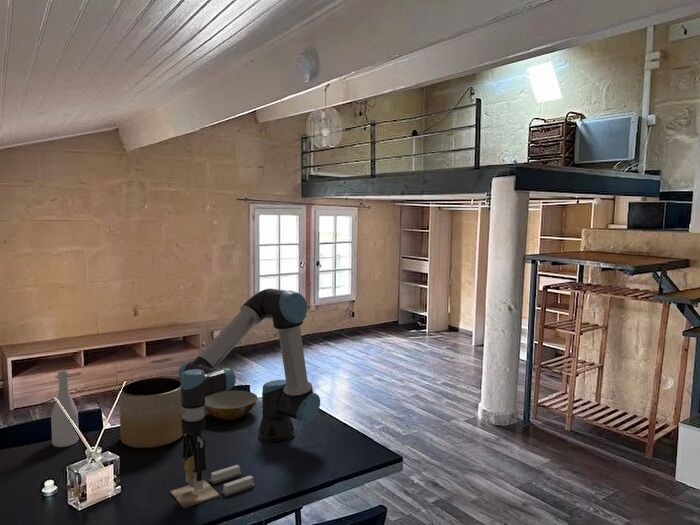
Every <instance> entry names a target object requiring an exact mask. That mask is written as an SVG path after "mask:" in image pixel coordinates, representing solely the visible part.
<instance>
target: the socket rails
mask: <svg viewBox="0 0 700 525" xmlns="http://www.w3.org/2000/svg"><path fill="white" fill-rule="evenodd" d="M210 473H211V474H210V477H211V478H209V482H210V483H211V484H212V485H214V484H218V483H220V482H224V481H227V480H230V479H232V478H233V479H234V478H236V477H240V476H242V472H241V467H240V465H239V464H235V465H232V466H229V467H228V466H227V467H225V468H222V469H218V470H216V471H213V472H210ZM254 487H256V484H255V483H254V477H253V475H248V476H245V477H242V478H238V479H235V480H233V481H229V482H227V483H223V490H221V493H222V495H224V496H225V497H228V496H230V495H234V494H236V493H240V492H242V491H245V490H248V489H252V488H254Z"/></svg>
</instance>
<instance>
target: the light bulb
mask: <svg viewBox="0 0 700 525" xmlns="http://www.w3.org/2000/svg"><path fill="white" fill-rule="evenodd" d="M183 469H184V472H185V474H186V473H187V475H188V476H189V482H188V485H189V486H190V487H193V488H194V473H193V471H194V470H195V465H194V458H193V456H191V457H189V458H188V459H187V460H186V461H185V460H184V464H183Z"/></svg>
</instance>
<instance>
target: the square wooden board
mask: <svg viewBox="0 0 700 525" xmlns="http://www.w3.org/2000/svg"><path fill="white" fill-rule="evenodd" d="M169 492H170V494H171V496H173V498H174V499H175V500H176V501H177V502H178V503H179V505H180V506H181V507H182V508H183V509H187V508H189V507H192V506H194V505H198V504H201V503H203V502H206V501H209V500H211V499H212V500H213V499H216V498H218V497H220V494H219V492H217V491H216V490H215V488H213V487H212V486H211V484H209V483H208V481H206V480H205V479H203V489H200V490H197V491H194V488H193V487H190V486H189V484H188V485H184V486H182V487H179V488H175V489H172V490H170V491H169Z"/></svg>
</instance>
